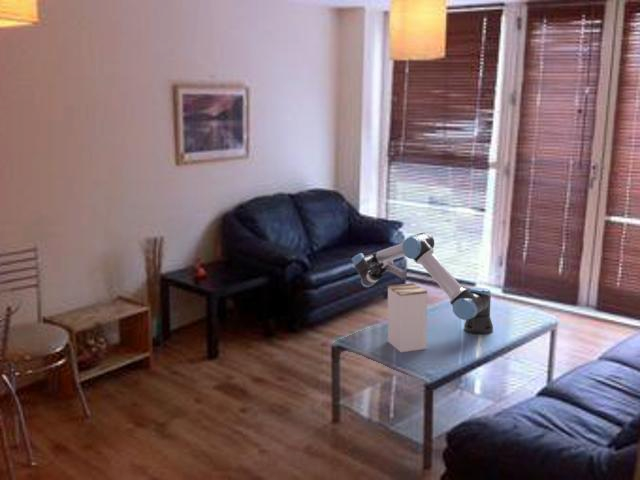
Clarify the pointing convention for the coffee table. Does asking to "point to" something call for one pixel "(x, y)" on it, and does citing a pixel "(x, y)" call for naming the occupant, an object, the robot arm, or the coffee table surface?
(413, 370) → the coffee table surface
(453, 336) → the coffee table surface
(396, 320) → the pedestal
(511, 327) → the coffee table surface
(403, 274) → the metal bar
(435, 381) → the coffee table surface
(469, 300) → the robot arm
